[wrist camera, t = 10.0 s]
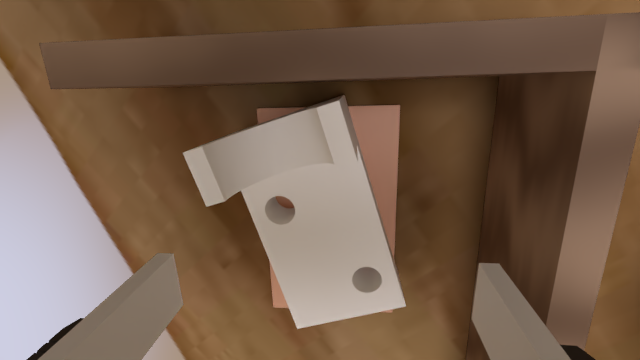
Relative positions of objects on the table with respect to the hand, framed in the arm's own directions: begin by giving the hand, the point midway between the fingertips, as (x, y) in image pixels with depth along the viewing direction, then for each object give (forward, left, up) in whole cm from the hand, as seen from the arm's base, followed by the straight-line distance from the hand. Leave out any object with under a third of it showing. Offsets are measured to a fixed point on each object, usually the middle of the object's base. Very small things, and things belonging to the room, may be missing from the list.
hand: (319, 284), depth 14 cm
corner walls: (+2, 0, -9) cm, 9 cm away
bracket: (0, -1, -9) cm, 9 cm away
